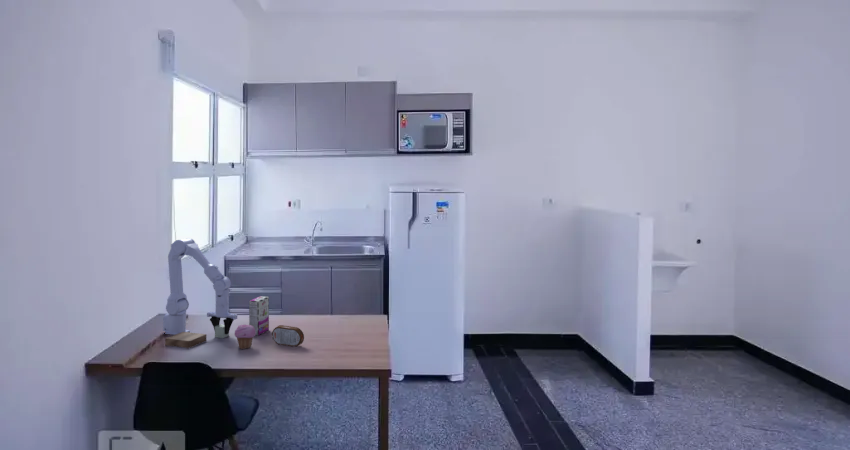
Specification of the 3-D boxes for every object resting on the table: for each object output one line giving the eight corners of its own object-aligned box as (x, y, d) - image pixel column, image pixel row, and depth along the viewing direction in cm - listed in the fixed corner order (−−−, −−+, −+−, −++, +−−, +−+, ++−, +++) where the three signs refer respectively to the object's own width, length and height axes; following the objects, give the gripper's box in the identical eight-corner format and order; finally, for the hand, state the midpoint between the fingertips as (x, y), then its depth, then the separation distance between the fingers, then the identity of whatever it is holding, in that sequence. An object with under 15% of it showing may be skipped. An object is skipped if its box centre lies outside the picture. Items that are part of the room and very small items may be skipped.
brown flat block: (165, 345, 264) (165, 338, 263) (182, 338, 275) (182, 331, 275) (189, 348, 261) (189, 341, 260) (206, 340, 272) (206, 334, 272)
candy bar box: (259, 329, 295) (259, 295, 294) (269, 330, 294) (269, 296, 293) (248, 335, 284) (248, 300, 283) (258, 336, 283) (258, 301, 282)
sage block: (214, 337, 279) (214, 326, 278) (220, 334, 283) (220, 324, 283) (223, 338, 278) (223, 327, 277) (229, 335, 282) (229, 325, 282)
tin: (304, 346, 269) (304, 327, 269) (300, 348, 266) (300, 329, 266) (274, 342, 274) (275, 323, 273) (270, 344, 271) (271, 325, 270)
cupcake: (233, 345, 267) (234, 322, 266) (254, 344, 270) (254, 321, 269) (235, 351, 259) (235, 327, 258) (256, 349, 262) (256, 326, 261)
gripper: (241, 303, 281) (240, 332, 282) (213, 301, 285) (213, 329, 286) (232, 306, 275) (232, 336, 276) (204, 304, 278) (204, 333, 279)
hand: (221, 333), depth 280 cm, fingers closed on sage block, 4 cm apart
